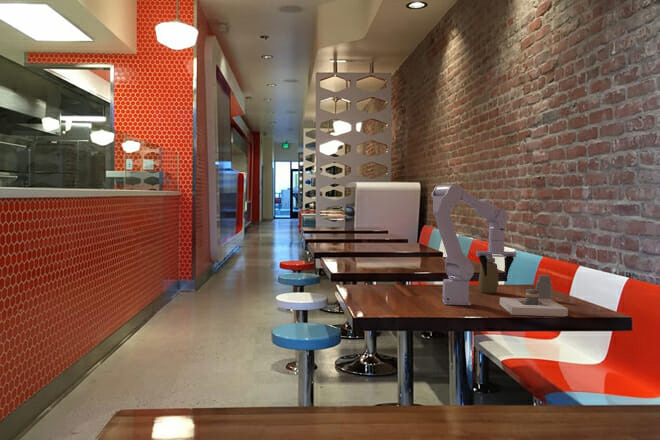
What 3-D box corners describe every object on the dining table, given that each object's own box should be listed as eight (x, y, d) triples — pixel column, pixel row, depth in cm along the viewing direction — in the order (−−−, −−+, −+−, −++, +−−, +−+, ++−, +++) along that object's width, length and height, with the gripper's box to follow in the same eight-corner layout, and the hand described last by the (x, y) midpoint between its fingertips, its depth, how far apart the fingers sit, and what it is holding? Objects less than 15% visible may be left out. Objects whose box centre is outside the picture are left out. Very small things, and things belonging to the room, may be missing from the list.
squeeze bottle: (500, 292, 223) (502, 249, 222) (495, 295, 216) (496, 250, 215) (481, 290, 227) (482, 248, 226) (475, 292, 220) (476, 249, 219)
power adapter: (536, 299, 209) (537, 268, 208) (551, 300, 206) (552, 269, 205) (535, 300, 206) (536, 269, 206) (550, 301, 203) (551, 270, 203)
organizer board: (511, 314, 179) (512, 307, 179) (499, 304, 197) (499, 297, 196) (567, 316, 177) (567, 309, 177) (550, 305, 195) (550, 299, 195)
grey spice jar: (527, 311, 185) (527, 291, 185) (523, 308, 189) (524, 289, 189) (539, 311, 185) (540, 291, 184) (536, 309, 189) (536, 289, 189)
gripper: (513, 239, 207) (512, 274, 208) (475, 238, 208) (474, 273, 209) (518, 241, 200) (517, 277, 201) (478, 240, 201) (477, 276, 202)
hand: (495, 275), depth 204 cm, fingers open, 7 cm apart
